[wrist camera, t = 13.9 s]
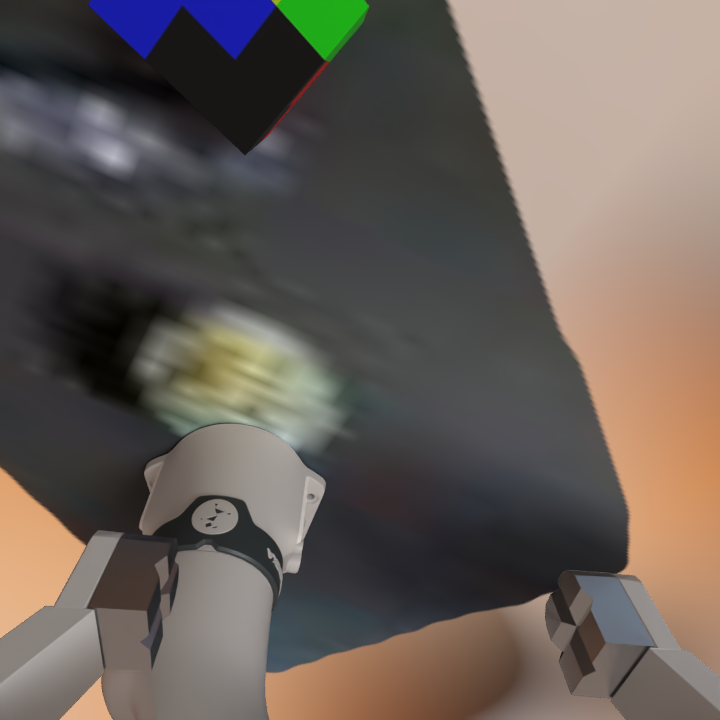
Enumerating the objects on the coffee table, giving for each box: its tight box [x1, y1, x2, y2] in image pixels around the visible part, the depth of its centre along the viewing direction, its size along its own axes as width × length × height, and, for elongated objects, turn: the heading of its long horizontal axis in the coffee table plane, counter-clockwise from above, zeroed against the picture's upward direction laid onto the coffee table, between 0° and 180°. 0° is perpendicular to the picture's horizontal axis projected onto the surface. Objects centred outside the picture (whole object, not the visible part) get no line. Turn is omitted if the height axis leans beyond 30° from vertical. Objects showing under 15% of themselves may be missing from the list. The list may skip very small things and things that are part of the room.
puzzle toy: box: [88, 0, 369, 155], centre depth 30 cm, size 10×10×10 cm
